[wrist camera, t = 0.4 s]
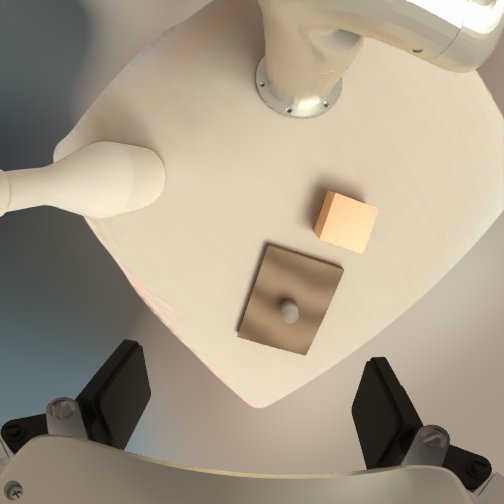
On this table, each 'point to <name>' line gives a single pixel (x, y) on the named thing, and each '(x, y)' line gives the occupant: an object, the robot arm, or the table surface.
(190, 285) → the table surface
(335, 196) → the light orange cube
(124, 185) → the wine bottle
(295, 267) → the base plate
